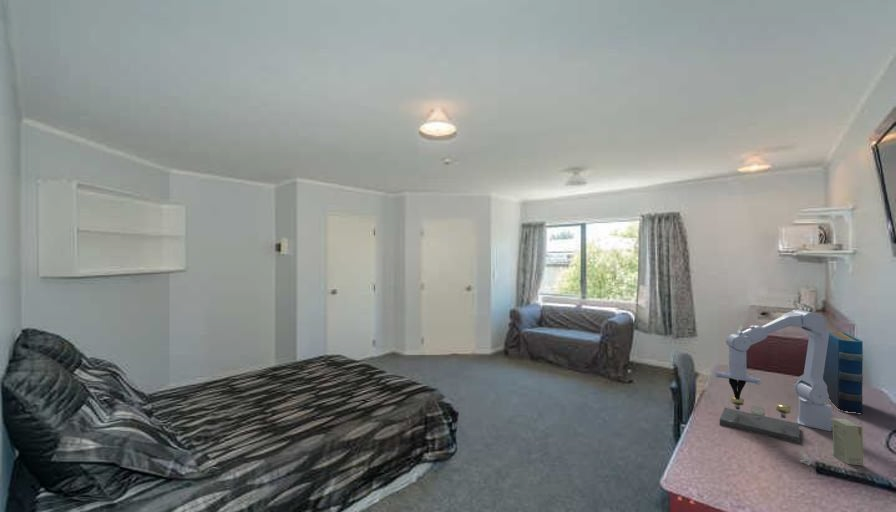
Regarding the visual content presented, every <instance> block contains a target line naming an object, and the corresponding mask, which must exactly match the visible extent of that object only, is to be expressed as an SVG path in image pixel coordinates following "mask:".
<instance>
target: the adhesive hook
mask: <svg viewBox="0 0 896 512" xmlns="http://www.w3.org/2000/svg"><path fill="white" fill-rule="evenodd" d="M809 457H810V455H809V456H808V454H807V453H803V454H802V456H801V460H799V462H800V463H802V464H805V465H807V466H811V465H812V464H813V465H812V466H815V464H814V463H813V461H810V458H809Z"/></svg>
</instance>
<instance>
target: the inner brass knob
mask: <svg viewBox="0 0 896 512" xmlns="http://www.w3.org/2000/svg"><path fill="white" fill-rule="evenodd" d="M775 408H776V409H775V410H776V411H777V412H779V413H780V418H782V419H786V418H787V414H791V406H789V405H786V404H783V403H777V404H776V407H775Z"/></svg>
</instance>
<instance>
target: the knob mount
mask: <svg viewBox="0 0 896 512" xmlns="http://www.w3.org/2000/svg"><path fill="white" fill-rule="evenodd" d="M719 425H721V426H725V427H730V428H734V429H737V430H742V431H747V432H750V431H751V432H750V433H754V432H755V434H758V433H759V434H758V435H762V434H763V436H766V435H767V436H766V437H772V438H775V439H779V440H784V441H787V442H791V441H792V442H791V443H795V442H797V443H796V444H800V425H799V424H798V423H797V422H795V421H789V420H783V419H779V418H774V417H771V416H770V417H769V416H765V415H764V416H761V420H756V419H755V414H753V413H751V412H747V411H742V410H737V409H732V408H729V407H724V409H723V411H722V414H721V416H720V418H719Z"/></svg>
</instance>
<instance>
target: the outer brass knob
mask: <svg viewBox="0 0 896 512" xmlns="http://www.w3.org/2000/svg"><path fill="white" fill-rule="evenodd" d="M730 399H731V400H730V402H731V403H732V404H733V405H734V410H738V411H741V406H743V405H744V398H743V397H740V399H735V395H734V396H733V395H732V396H731V397H730Z"/></svg>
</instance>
